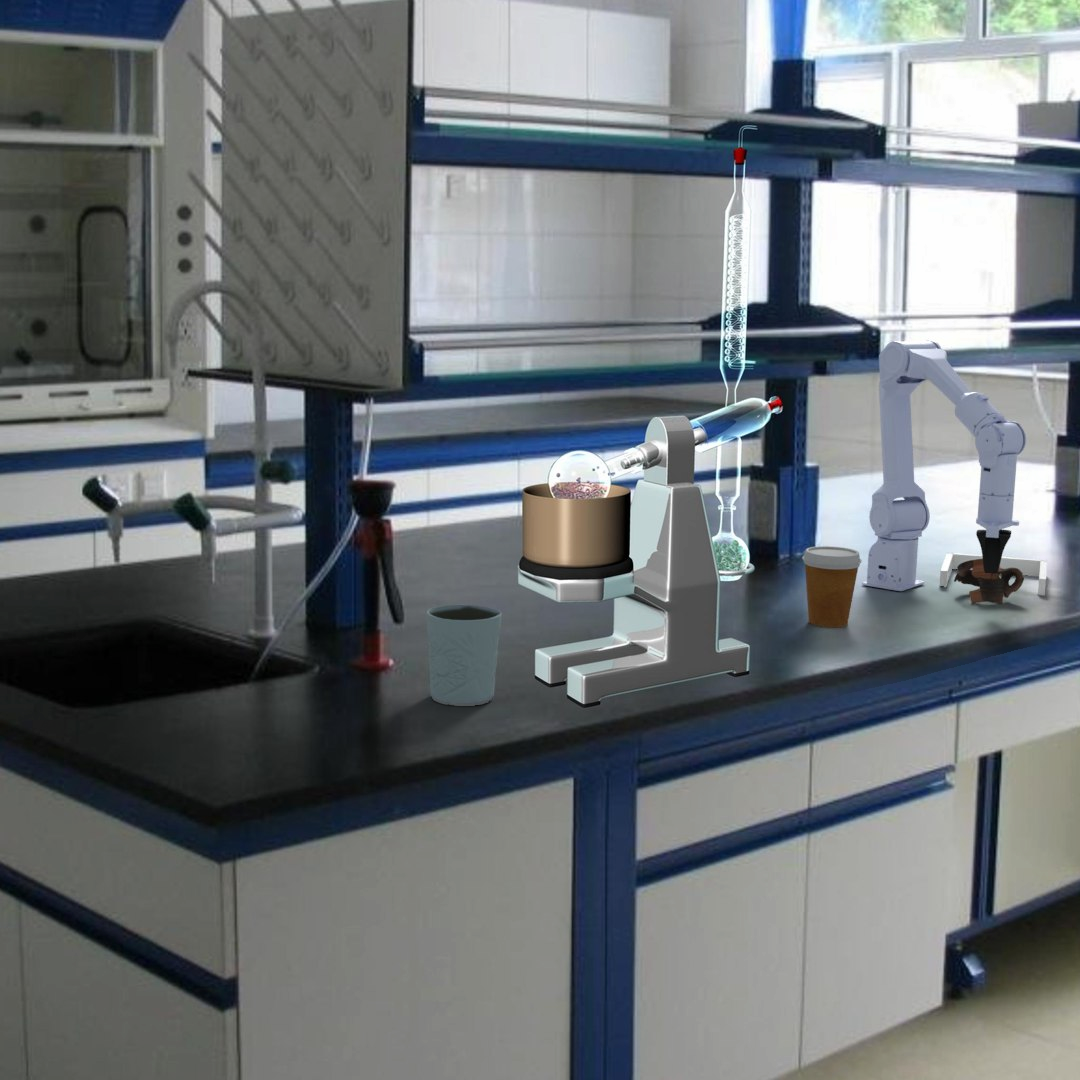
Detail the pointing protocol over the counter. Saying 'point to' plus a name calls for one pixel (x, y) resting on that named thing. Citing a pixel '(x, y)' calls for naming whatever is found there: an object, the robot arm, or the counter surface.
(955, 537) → the counter surface
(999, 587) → the pottery mug
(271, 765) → the counter surface
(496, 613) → the grey tapered cup
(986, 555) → the robot arm
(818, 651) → the counter surface
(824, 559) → the disposable coffee cup
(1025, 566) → the u-shaped white bracket
